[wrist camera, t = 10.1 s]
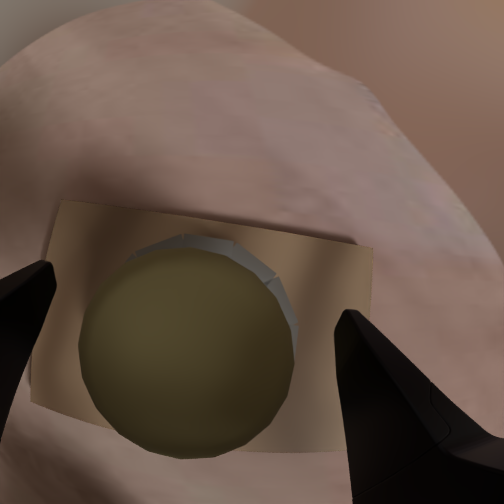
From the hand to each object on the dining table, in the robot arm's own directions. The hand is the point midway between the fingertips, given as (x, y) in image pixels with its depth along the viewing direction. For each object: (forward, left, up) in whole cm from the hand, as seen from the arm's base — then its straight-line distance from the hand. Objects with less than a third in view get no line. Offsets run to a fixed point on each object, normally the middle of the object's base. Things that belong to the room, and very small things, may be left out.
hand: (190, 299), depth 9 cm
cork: (-1, -1, -8) cm, 8 cm away
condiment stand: (-1, -1, -9) cm, 9 cm away
